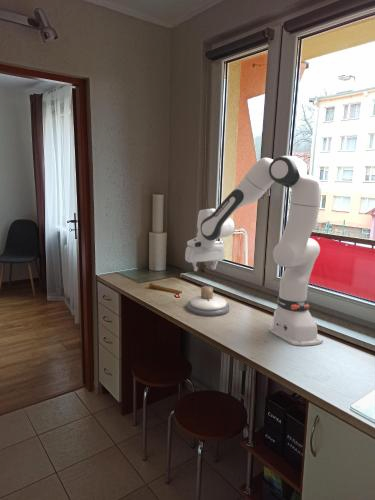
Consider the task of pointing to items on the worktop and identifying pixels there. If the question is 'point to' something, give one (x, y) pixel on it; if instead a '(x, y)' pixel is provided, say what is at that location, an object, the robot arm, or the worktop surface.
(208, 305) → the dial
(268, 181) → the robot arm
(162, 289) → the primitive tool
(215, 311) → the base
